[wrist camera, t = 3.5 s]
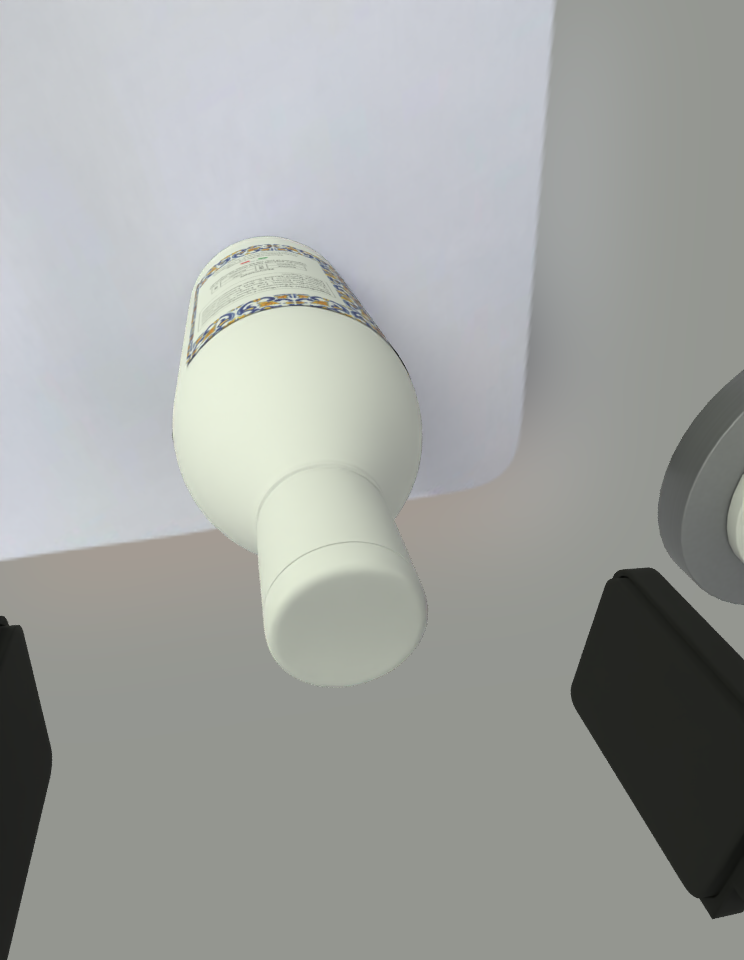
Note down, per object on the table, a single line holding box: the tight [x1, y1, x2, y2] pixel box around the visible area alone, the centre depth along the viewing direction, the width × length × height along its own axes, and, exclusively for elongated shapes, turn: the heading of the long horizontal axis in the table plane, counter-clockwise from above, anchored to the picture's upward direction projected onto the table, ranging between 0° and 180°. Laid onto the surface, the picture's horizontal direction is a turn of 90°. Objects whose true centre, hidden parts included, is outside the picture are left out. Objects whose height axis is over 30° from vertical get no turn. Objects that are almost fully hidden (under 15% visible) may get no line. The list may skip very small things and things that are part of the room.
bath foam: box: [172, 236, 428, 687], centre depth 19 cm, size 7×7×20 cm
